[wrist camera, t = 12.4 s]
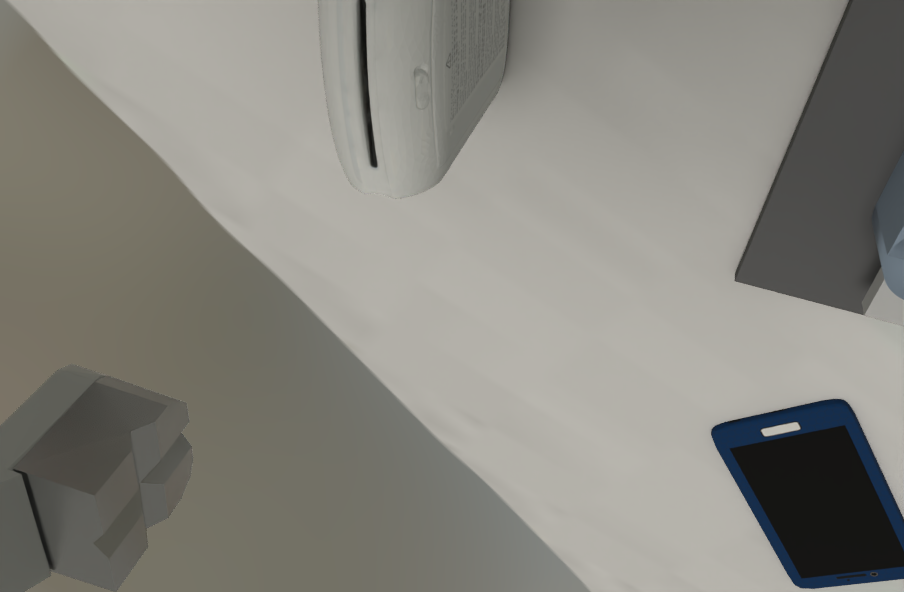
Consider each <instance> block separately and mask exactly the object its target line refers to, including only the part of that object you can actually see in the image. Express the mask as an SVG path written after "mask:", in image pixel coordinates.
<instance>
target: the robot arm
mask: <svg viewBox="0 0 904 592" xmlns="http://www.w3.org/2000/svg"><path fill="white" fill-rule="evenodd" d="M188 423H189V416H188V409H187V403H186V402H183V401H180V400H177V399H174V398H171V397H168V396H165V395H163V394H160V393H157V392H154V391H151V390H148V389H145V388H142V387H139V386H136V385H134V384H131V383H128V382H125V381H122V380H120V379H117V378H114V377H111V376H108V375H105V374H102V373H99V372H95V371H92V370H90V369H87V368H84V367H81V366H77V365H74V364H70V365H68V366H65V367H63V368H61V369H58V370H57V371H56V372H55V373H54V374H53V375H52V376H51V377H50V378H49V379H47V381H45V382H44V383H43V384H42V385H41V386H40V387H39V388H38V389H37V390H36V391H35V392H34V393H33V394H32V395H31V396H30V397H29V398H28V399H27V400H26V401H25V402H24V403H23V404H22V405H21V406H20V407H19V408H18V409H17V410H16V411H15V412H14V413H13V414H12V415H11V416H10V417H9V418H8V419H7V420H6V421H5V422H4V423H3V424H2V425H1V426H0V592H25V591H26V590H28V589H30V588H31V587H33V586H35V585H36V584H38V583H40V582H41V581H43V580H45V579H46V578H48V577H50V576H51V571H53V572H56V573H59V574H62V575H65V576H68V577H71V578H74V579H77V580H80V581H83V582H86V583H90V584H93V585H96V586H98V587H101V588H105V589H108V590H111V591H114V592H116V591H117V590H118V588H119V587H120V586H121V584H122V583H123V582H124V580H125V579H126V577H127V576H128V575H129V573H130V572H131V570H132V569H133V567H134V566H135V565H136V563H137V562H138V560H139V559H140V558H141V556H142V555H143V553H144V552H145V551H146V549H147V548H148V543H147V542H148V541H147V528H149V527H150V526H153V525H155V524H157V523H159V522H161V521H163V520H165V519H167V518H169V516H170V515H171V513H172V512H173V510H174V509H175V507H176V506H177V504H178V503H179V501H180V499H181V498H182V496H183V493H184V491H185V488H186V486H187V483H188V481H189V479H190V476H191V470H192V463H193V453H192V446H191V445H190V443H189V442H188V441H187V439H186V438H185V437H184V435H183V434H182V433H181V432H182V431H183V429H184V428H185V427H186V426H187V424H188Z"/></svg>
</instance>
